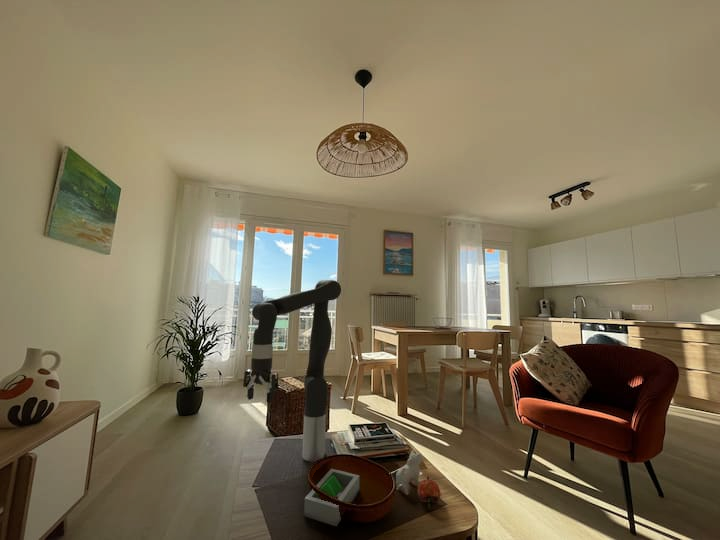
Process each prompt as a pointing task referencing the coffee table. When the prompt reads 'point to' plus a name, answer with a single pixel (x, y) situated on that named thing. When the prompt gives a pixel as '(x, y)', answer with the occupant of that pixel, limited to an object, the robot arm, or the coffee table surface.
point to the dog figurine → (409, 471)
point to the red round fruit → (429, 491)
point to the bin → (326, 509)
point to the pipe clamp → (330, 487)
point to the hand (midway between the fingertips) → (259, 400)
